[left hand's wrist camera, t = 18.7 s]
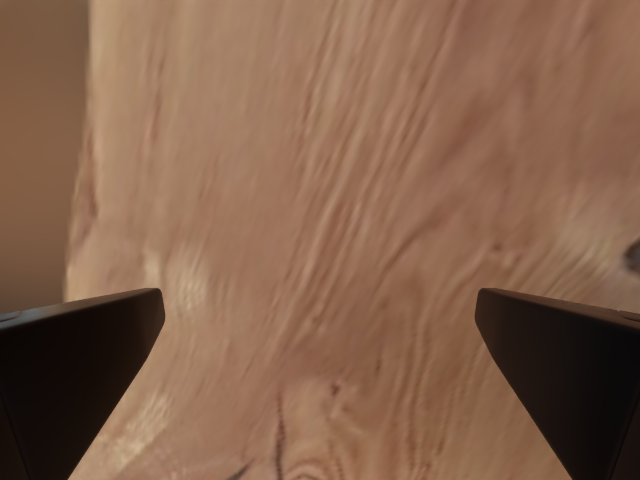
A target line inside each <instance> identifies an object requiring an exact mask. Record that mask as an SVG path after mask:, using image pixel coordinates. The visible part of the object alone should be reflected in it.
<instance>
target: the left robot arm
mask: <svg viewBox="0 0 640 480" xmlns="http://www.w3.org/2000/svg"><path fill="white" fill-rule="evenodd" d="M164 322H165V310H164V303H163V297H162V292H161V290H160V289H158V288H143V289H138V290H132V291H127V292H122V293H116V294H111V295H105V296H100V297H94V298H89V299H83V300H78V301H72V302H67V303H62V304H56V305H50V306H45V307H39V308H34V309H28V310H24V311H22V312H21V311H15V312H9V313H3V314H0V480H68V478H69V477H70V475H71V474H72V472H73V471H74V469H75V468H76V466H77V465H78V463H79V462H80V460H81V459H82V457H83V456H84V454H85V453H86V451H87V449H88V448H89V446H90V445H91V443H92V442H93V440H94V439H95V437H96V436H97V434H98V433H99V431H100V430H101V428H102V427H103V425H104V424H105V422H106V421H107V419H108V418H109V416H110V414H111V413H112V411H113V410H114V408H115V407H116V405H117V404H118V402H119V401H120V399H121V398H122V396H123V395H124V393H125V392H126V390H127V389H128V387H129V386H130V384H131V383H132V381H133V380H134V378H135V376H136V375H137V373H138V372H139V370H140V369H141V367H142V366H143V364H144V363H145V361H146V359H147V357H148V356H149V354H150V352H151V350H152V348H153V345H154V343H155V341H156V339H157V337H158V335H159V333H160V331H161V329H162V327H163V325H164ZM475 322H476V325H477V327H478V329H479V331H480V333H481V335H482V337H483V339H484V341H485V343H486V345H487V348H488V350H489V352H490V354H491V356H492V357H493V359H494V361H495V363H496V364H497V366H498V367H499V369H500V370H501V372H502V373H503V375H504V376H505V378H506V379H507V381H508V383H509V384H510V386H511V387H512V389H513V390H514V392H515V393H516V395H517V396H518V398H519V399H520V401H521V402H522V404H523V405H524V407H525V408H526V410H527V411H528V413H529V414H530V416H531V417H532V419H533V421H534V422H535V424H536V425H537V427H538V428H539V430H540V431H541V433H542V434H543V436H544V437H545V439H546V440H547V442H548V443H549V445H550V446H551V448H552V449H553V451H554V452H555V454H556V456H557V457H558V459H559V460H560V462H561V463H562V465H563V466H564V468H565V469H566V471H567V472H568V474H569V475H570V477H571V478H572V480H640V314H637V313H631V312H625V311H619V312H618V311H617V310H612V309H606V308H601V307H595V306H590V305H584V304H579V303H573V302H568V301H562V300H557V299H551V298H546V297H541V296H535V295H530V294H524V293H519V292H513V291H508V290H502V289H497V288H482V289H480V290H479V292H478V297H477V303H476V310H475Z"/></svg>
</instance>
